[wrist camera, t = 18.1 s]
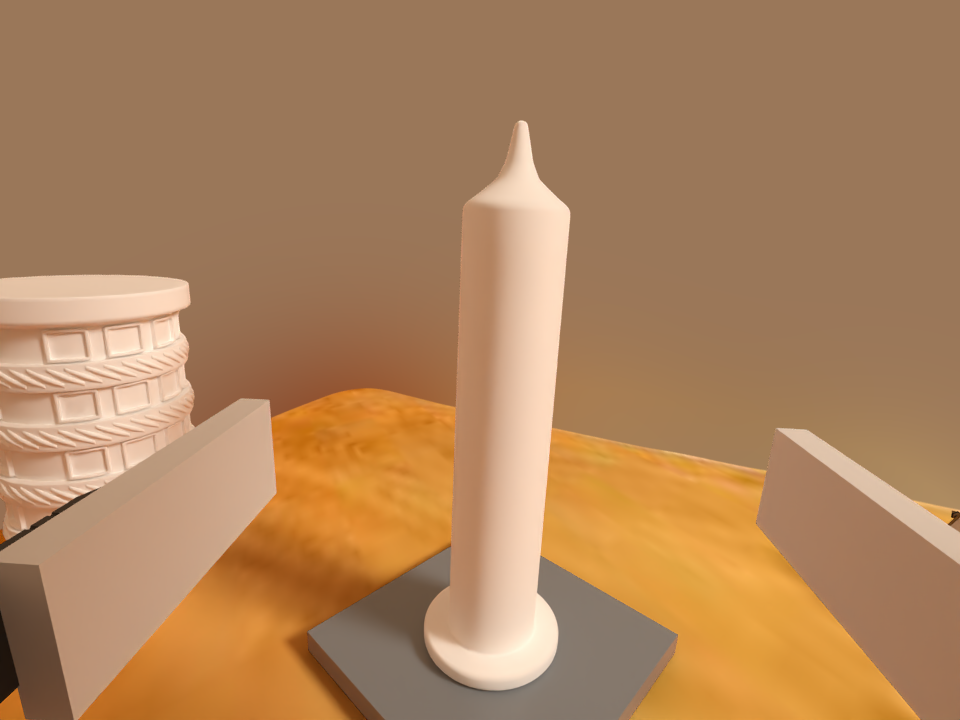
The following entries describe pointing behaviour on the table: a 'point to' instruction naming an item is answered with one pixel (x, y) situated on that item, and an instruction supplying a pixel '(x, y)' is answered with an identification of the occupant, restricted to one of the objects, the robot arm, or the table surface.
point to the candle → (503, 431)
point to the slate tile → (482, 713)
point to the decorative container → (86, 384)
